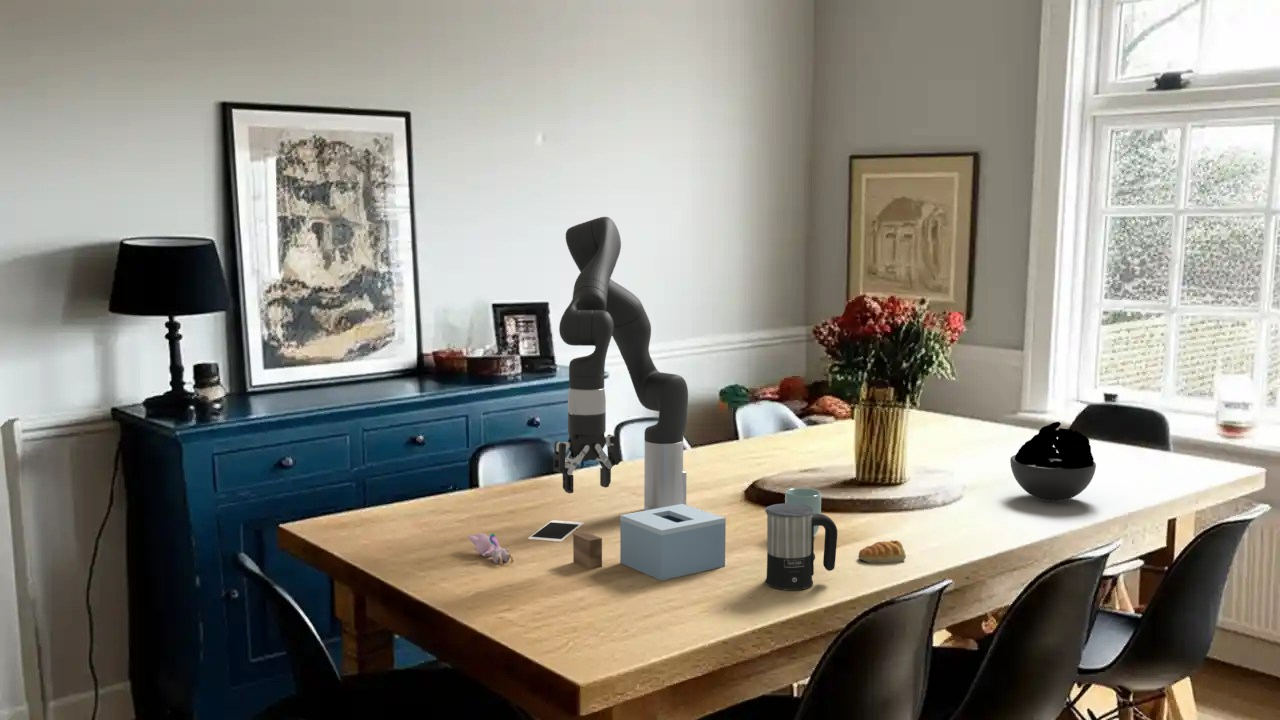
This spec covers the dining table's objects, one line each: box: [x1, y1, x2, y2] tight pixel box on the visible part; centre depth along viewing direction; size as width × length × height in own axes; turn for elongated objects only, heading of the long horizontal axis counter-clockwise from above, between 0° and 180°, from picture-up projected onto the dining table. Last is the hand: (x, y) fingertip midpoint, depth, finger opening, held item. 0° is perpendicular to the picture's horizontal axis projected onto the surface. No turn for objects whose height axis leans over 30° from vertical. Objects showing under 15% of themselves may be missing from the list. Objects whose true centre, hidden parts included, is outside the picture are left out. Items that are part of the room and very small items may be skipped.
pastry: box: [857, 539, 907, 564], centre depth 241 cm, size 9×7×4 cm
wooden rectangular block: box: [572, 531, 603, 570], centre depth 237 cm, size 3×6×6 cm, turn 36°
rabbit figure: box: [467, 532, 515, 566], centre depth 242 cm, size 6×6×15 cm
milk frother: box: [764, 502, 838, 591], centre depth 229 cm, size 14×16×15 cm
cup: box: [784, 487, 822, 537], centre depth 258 cm, size 8×8×10 cm
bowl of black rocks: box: [1009, 421, 1097, 502], centre depth 290 cm, size 20×20×19 cm
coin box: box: [619, 504, 727, 581], centre depth 237 cm, size 16×14×10 cm
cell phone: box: [527, 519, 584, 543], centre depth 262 cm, size 8×16×1 cm, turn 164°
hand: (586, 489), depth 235 cm, fingers open, 8 cm apart
